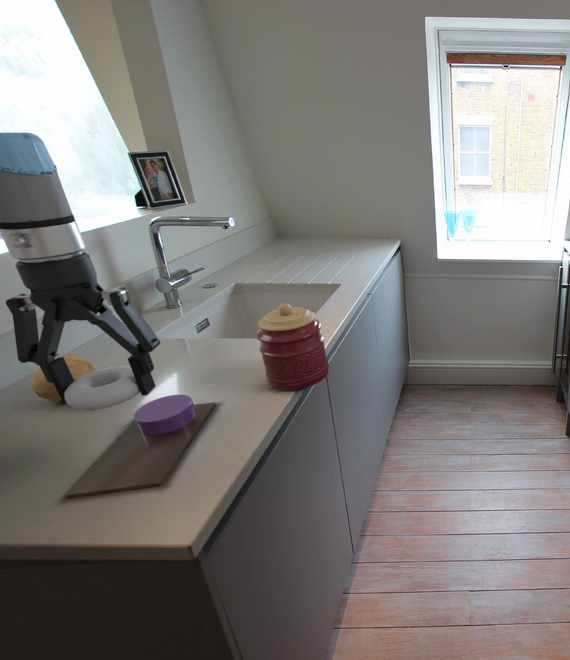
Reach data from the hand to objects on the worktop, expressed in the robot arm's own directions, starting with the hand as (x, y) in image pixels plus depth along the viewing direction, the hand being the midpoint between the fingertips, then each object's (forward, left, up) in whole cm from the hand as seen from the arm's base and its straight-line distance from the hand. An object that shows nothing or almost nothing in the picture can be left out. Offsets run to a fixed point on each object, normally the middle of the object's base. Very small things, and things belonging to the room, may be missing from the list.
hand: (110, 394), depth 70 cm
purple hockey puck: (0, +11, -13) cm, 16 cm away
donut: (0, 0, 0) cm, 0 cm away
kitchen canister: (+21, +24, -13) cm, 35 cm away
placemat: (0, +4, -13) cm, 14 cm away
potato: (-25, +26, -13) cm, 39 cm away
